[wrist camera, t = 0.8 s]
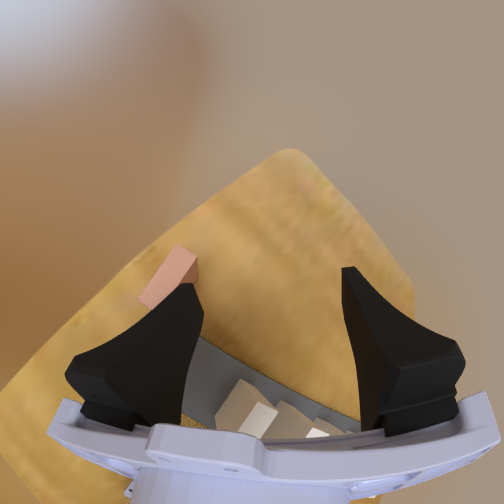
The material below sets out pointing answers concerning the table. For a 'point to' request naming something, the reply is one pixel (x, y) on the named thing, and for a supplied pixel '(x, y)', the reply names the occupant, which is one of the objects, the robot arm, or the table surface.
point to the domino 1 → (170, 276)
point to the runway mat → (224, 380)
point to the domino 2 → (245, 411)
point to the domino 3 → (292, 425)
